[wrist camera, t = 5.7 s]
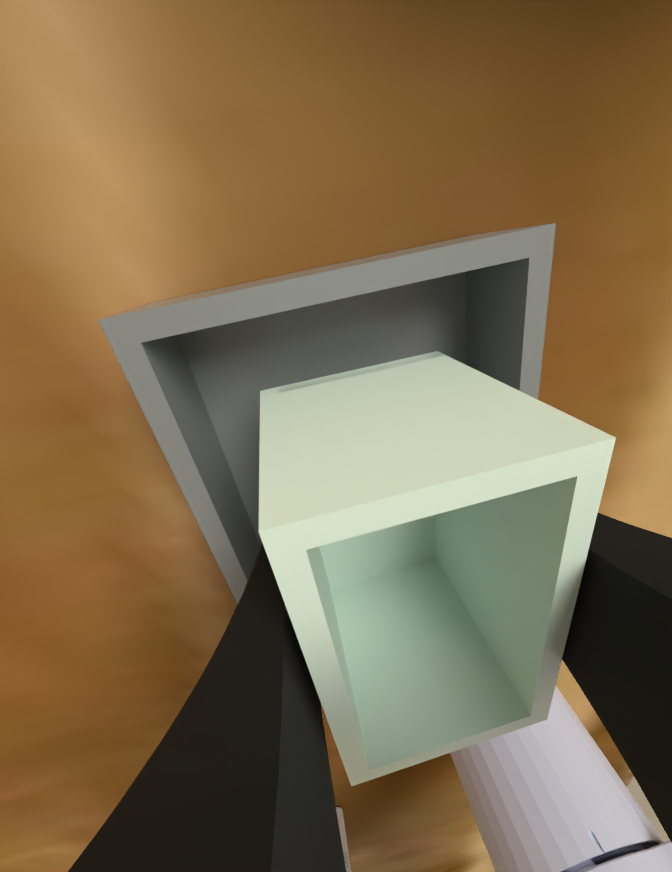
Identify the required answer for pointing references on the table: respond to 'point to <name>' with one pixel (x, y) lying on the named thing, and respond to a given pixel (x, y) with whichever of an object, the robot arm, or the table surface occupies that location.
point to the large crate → (319, 354)
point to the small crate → (426, 550)
